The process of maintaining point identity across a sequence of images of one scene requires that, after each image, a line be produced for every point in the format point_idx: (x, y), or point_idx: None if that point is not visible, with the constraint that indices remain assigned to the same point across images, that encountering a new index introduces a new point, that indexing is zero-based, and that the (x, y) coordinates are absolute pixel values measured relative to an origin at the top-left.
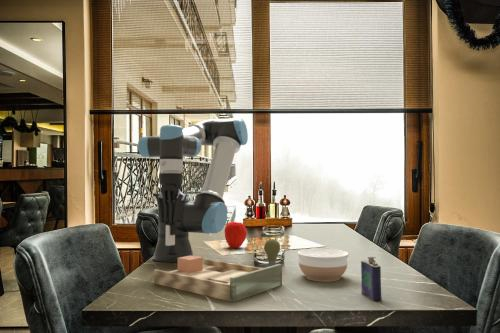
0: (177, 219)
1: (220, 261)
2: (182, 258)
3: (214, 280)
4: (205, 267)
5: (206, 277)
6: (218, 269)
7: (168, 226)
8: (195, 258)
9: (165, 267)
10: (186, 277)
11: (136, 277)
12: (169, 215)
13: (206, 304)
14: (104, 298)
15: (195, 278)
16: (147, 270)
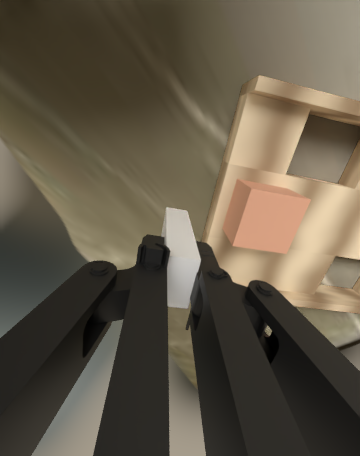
0: (275, 338)
1: (337, 98)
2: (253, 246)
3: (349, 256)
4: (281, 149)
5: (326, 252)
6: (313, 111)
7: (185, 303)
8: (294, 227)
9: (77, 104)
10: (302, 305)
11: (113, 253)
12: (201, 377)
13: (348, 323)
14: (182, 363)
15: (328, 309)
16: (66, 176)
